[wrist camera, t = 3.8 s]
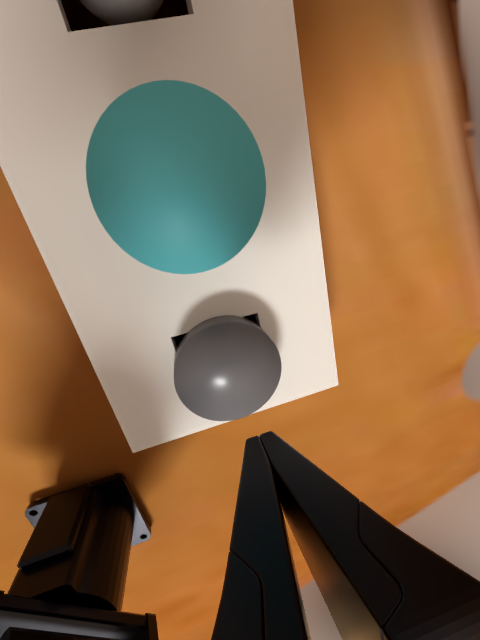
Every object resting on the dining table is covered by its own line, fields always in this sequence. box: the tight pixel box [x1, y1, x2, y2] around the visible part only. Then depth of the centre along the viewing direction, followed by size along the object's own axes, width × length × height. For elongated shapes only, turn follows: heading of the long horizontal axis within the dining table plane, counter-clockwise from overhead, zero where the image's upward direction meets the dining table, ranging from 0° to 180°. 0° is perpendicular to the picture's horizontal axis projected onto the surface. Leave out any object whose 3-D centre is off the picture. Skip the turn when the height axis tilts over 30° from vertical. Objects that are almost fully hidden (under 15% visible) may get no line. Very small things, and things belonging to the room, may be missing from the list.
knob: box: [174, 315, 282, 421], centre depth 16 cm, size 5×5×5 cm
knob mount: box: [0, 0, 338, 453], centre depth 14 cm, size 23×12×4 cm, turn 13°
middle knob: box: [86, 80, 266, 274], centre depth 11 cm, size 5×5×5 cm
